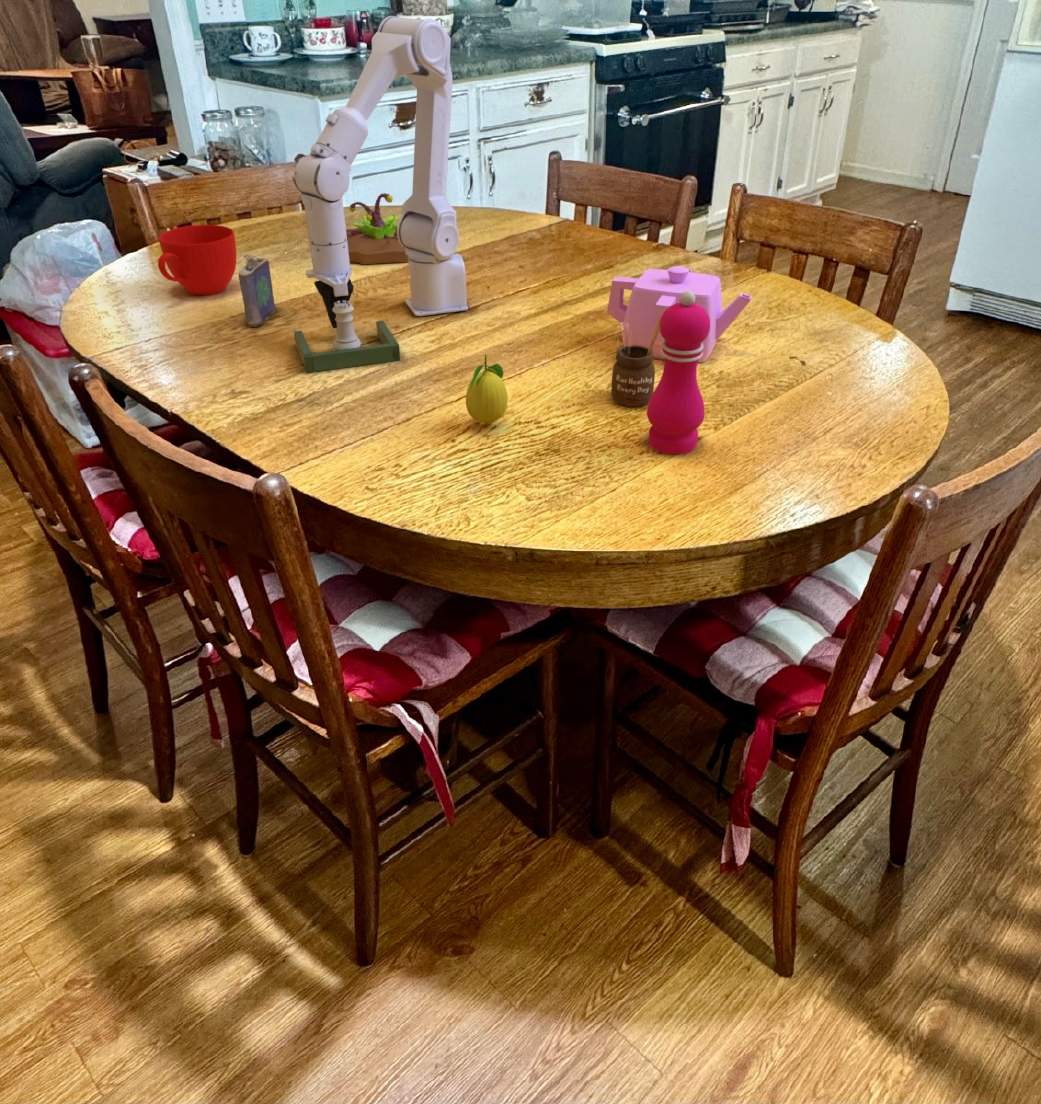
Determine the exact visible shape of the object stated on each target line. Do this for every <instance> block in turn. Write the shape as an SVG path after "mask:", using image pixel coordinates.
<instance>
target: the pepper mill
mask: <svg viewBox="0 0 1041 1104" xmlns="http://www.w3.org/2000/svg"><path fill="white" fill-rule="evenodd" d="M694 302H695V295H694V293H693V292H691V291H684V292H683V293H682V294H681V296H680V303H675V304H673V305H671V306H670V307H668V308H667V309H666V310H665V311H664V312H663V314H662V316H661V319H660V324H659V329H660V333H661V335H662V337H663V338H664V339H665V340H664V341H663V343H662V350H661V354H662V356H663V357H664V359H663V360H664V361H663V362H664V363H663V371H662V374H661V377H660V379H659V381H658V384H657V385H656V387H655V388H654V390H653V394H652V396H651V398H650V401H649V403H647V408H646V417H647V419H648V422H649V423H650V425H651V426H650V427H649V429H648V439H647V441H648V444H649V446H650V447H651V448H652V449H653V450H655V451H657V452H660V453H663V454H667V455H685V454H688V453H691V452H693V451H694V450H696V448H697V445H698V439H699V432H698V428H700V427H701V425H702V424H703V422H704V420H705V409H706V408H705V403H704V399H703V396H702V393H701V391H700V388H699V384H698V378H697V373H698V364H699V362H698V360H699V359H700V358H701V357H702V356H703V352H702V350H703V348H704V346H703V344H702V341H704V340H705V339H706V337H707V336H708V334H709V331H710V318H709V315H708V313H707V312H706V310H705V309H704V308H702V307H701V306H700V305H698V304H695V303H694Z"/></svg>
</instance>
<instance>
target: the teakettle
mask: <svg viewBox="0 0 1041 1104" xmlns="http://www.w3.org/2000/svg"><path fill="white" fill-rule="evenodd" d="M721 285H722V284H721V278H720V276H717V275H713V274H707V273H700V272H693V269H689V268H687V267H685V266H682V265H674V266H670V267H668V268H667V269H661V268H648V269H646V270H645V271H644V272H643V273H642V274H641V275H640V277H628V276H627V277H625V276H615V277H613V279H612V280H611V285H610V292H609V297H608V303H607V309H606V314H607V315H609V316H611V317H612V319H614V320H616V321H617V322H618V323H620V324H621V323H623V324H622V328H623V332H622V336H623V335H624V339H623V338H622V345H623V346H624V343H625V346H629V345H638V346H644V347H647V348H650V345H651V342H652V339H653V334H654V331H655V328H656V326H657V323H658V321H659V318H660V316H661V315H662V314H663V312H664V311H665V310H666V309H667V308H668V307H670V306H671V305H673V304H675V303H680V296H681V294H682V293H683V292H684V291H691V292H693V293H694V295H695V302H694V303H695V304H698V305H700V306H701V307H702V308H704V309H705V310H706V312H707V313H708V315H709V318H710V331H709V334H708V336H707V337H706V339H705V340H704V341H702V344H703V346H704V348H703V350H702V352H703V356H702V357H701V358H700V359H699V360H698V363H704V362H706V361H707V360H708V359H709V357H710V355H711V353H712V351H713V350H714V348H715V345H716V344H717V341H718V340H719V339H720V338H721V336H723V334H724V333H725V331H726V330H727V329H728V328H729V327H730V326H731V324H732V323H733V322H734V321H735V320H736V318H737V317H738V316H739V315H740V314H741V313H742V312H743V310H744V309H745V308H746V307H747V305H749V303H750V302H751V300H752V298H753V296H752V295H749V294H746V293H743V292H740V294H739V295H738V296H737V297H736V298H735V299H734V300H733V301H732V302H731V303H730V304H728V306H726V308H724V309H723V297H722V286H721ZM625 290H626V291H627V290H628V291H631V293H630V296H629V298H628V299H629V300H628V304H627V305H626V304H624V296H625ZM624 323H626V324H628V325H629V326H630V327H629V326H628V325H626V324H625V325H626V326H627V327H626V326H625V325H624ZM627 328H628V329H627ZM630 328H631V329H630ZM628 330H629V332H628ZM631 332H632V334H631ZM629 335H630V342H629ZM664 340H665V339H664V338H663V337H662V335H661V333H660V329H659V332H658V335H657V338H656V340H655V341H654V344H653V347H652V349H651V350H652V351H653V355H654V359H658V360H664V357H663V356H662V354H661V350H662V343H663V341H664Z"/></svg>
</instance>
